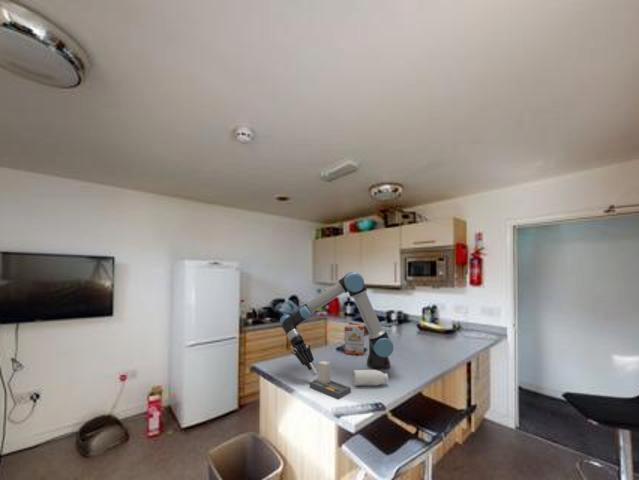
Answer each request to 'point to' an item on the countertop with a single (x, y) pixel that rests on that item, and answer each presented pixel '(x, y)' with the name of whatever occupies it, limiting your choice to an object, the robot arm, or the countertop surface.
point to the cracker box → (354, 339)
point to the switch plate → (331, 388)
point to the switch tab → (324, 372)
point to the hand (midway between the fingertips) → (315, 374)
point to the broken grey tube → (369, 377)
